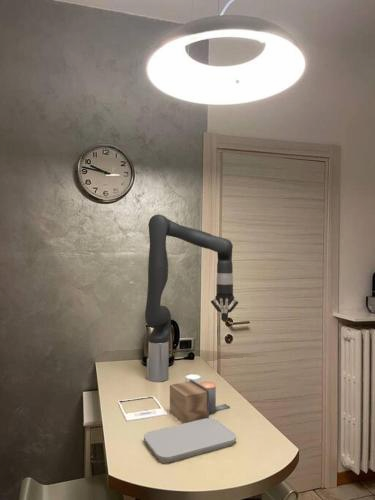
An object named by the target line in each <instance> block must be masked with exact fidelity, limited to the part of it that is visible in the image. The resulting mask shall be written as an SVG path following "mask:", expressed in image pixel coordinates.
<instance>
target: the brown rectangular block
mask: <svg viewBox="0 0 375 500" xmlns="http://www.w3.org/2000/svg"><path fill="white" fill-rule="evenodd" d="M228 409H231V406H229V405H228V404H226V403H222V404H220V405H216V410H215V412H212V413H211V414H213V413H216V412H217V413H218V412H220V411H223V410H228ZM169 413H170V414H171V415H172V416H173V417H174V418H175V419H177V420H178V421H179V422H180V423H181V424H184V423H188V422H192V421H197V420H201V419H206V418H210V413H209V390H208V389H207V388H205V387H203V386H202V385H200V384H198V383H197V382H195V381H193V380H192V379H190V381H188V382H185V381H183V382H179V383H175V384H169Z"/></svg>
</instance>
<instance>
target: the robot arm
mask: <svg viewBox="0 0 375 500" xmlns="http://www.w3.org/2000/svg"><path fill="white" fill-rule="evenodd" d="M147 226H148V234H149V251H148V263H147V264H148V267H147V292H146V293H147V296H146V303H145V311H144V313H145V314H144V319H145V323H146V325H147V326H148V327H150V328H151V329H153V330H152V331H151V333H150V334H148V357H147V358H146V380H149V381H150V382H156V383H157V382H158V383H159V382H165V381H167V380H169V365H170V363H169V360H170V358H169V356H170V355H169V349H170V348H169V347H170V346H169V338H170V335H171V326H172V317H171V315H172V314H171V311H170V309H169V308H168V307H167V306H166V305H161V300H162V294H163V293H164V289H165V287H166V286H167V282H168V279H169V259H168V252H167V245H166V244H167V236H168V237H172V238H176V239H179V240H182V241H185V242H187V243H189V244H192V245H194V246H197V247H200V248H204V249H207V250H211V251H214V252H216V253H217V263H216V264H217V265H216V282H215V283H216V286H215V287H216V291H215V293H216V296H215V298H213V299H212V300H210V303H211V305H212V306H213V307H214V308H215V310H216V312H219V313H221V315H220V317H221V318H220V319H221V321H222V322H223V323H226V322H228V319H229V313H232V311H234V309H235V308H236V306H238V304H239V302H240V301H239V300H237V299H235V296H234V276H233V275H234V273H233V261H232V258H233V246H234V245H233V243H232V241H231V240H230V239H227V238H224V237H221V236H217V235H213V234H212V233H208V232H206V231H202V230H200V229H196V228H192V227H187V226H185V225H181V224H178V223H177V222H174V221H172V220H171V219H169V218H168V217H166V216H165V215H162V214H154V215H153V216H151V218H150V219H149V221H148V225H147ZM217 303H218V304H219V305H218V304H217ZM231 304H232V306H231V307H230V305H231ZM229 307H230V308H229Z"/></svg>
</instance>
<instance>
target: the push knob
mask: <svg viewBox="0 0 375 500" xmlns="http://www.w3.org/2000/svg"><path fill="white" fill-rule="evenodd" d="M199 384H200V385H202V386H203V387H205V388H207V389H208V390H209V414H213V413H216V412H215V410H216V406H217V404H216V400H217V399H216V396H217V395H216V392H217V391H216V390H217V389H216V387H217V385H216V382H213V381H210V380H209V381H201V383H199ZM212 412H213V413H212Z"/></svg>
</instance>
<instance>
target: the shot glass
mask: <svg viewBox="0 0 375 500" xmlns="http://www.w3.org/2000/svg"><path fill="white" fill-rule="evenodd" d="M184 379H185V380H184V382H188V381H190V379H192V380H193V381H195V382H197V383H198V384H199V383H201V382H202V375H200V374H198V373H197V374H196V373H194V374H193V373H191V374H186V375H185V376H184Z"/></svg>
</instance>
